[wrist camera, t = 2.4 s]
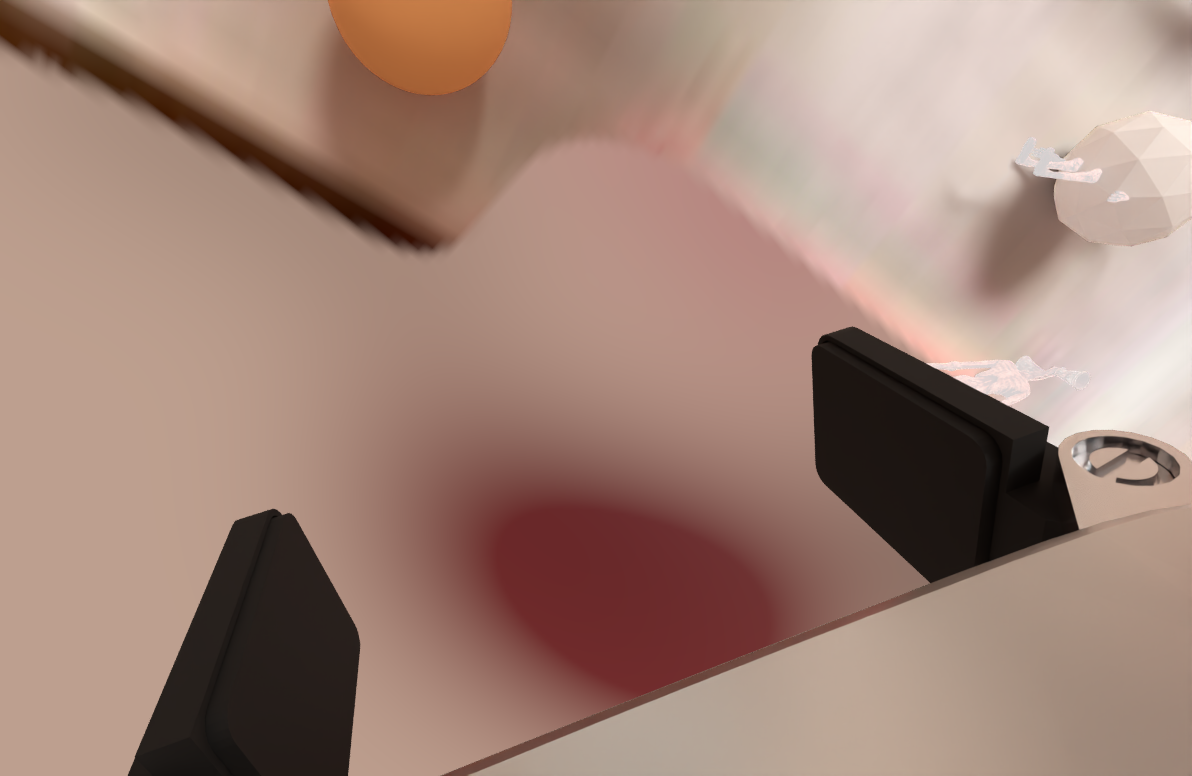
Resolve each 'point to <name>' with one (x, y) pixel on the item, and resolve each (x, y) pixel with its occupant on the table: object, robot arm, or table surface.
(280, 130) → the table surface
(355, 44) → the ball
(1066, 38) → the table surface
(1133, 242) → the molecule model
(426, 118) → the table surface
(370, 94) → the table surface
